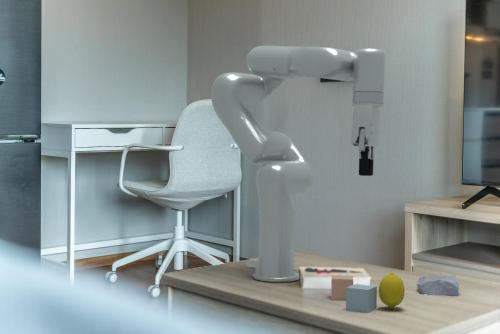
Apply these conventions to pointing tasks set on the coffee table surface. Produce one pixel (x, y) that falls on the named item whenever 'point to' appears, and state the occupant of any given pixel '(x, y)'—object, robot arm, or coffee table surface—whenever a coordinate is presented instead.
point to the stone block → (438, 285)
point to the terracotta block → (340, 286)
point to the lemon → (391, 290)
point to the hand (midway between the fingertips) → (365, 175)
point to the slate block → (361, 298)
